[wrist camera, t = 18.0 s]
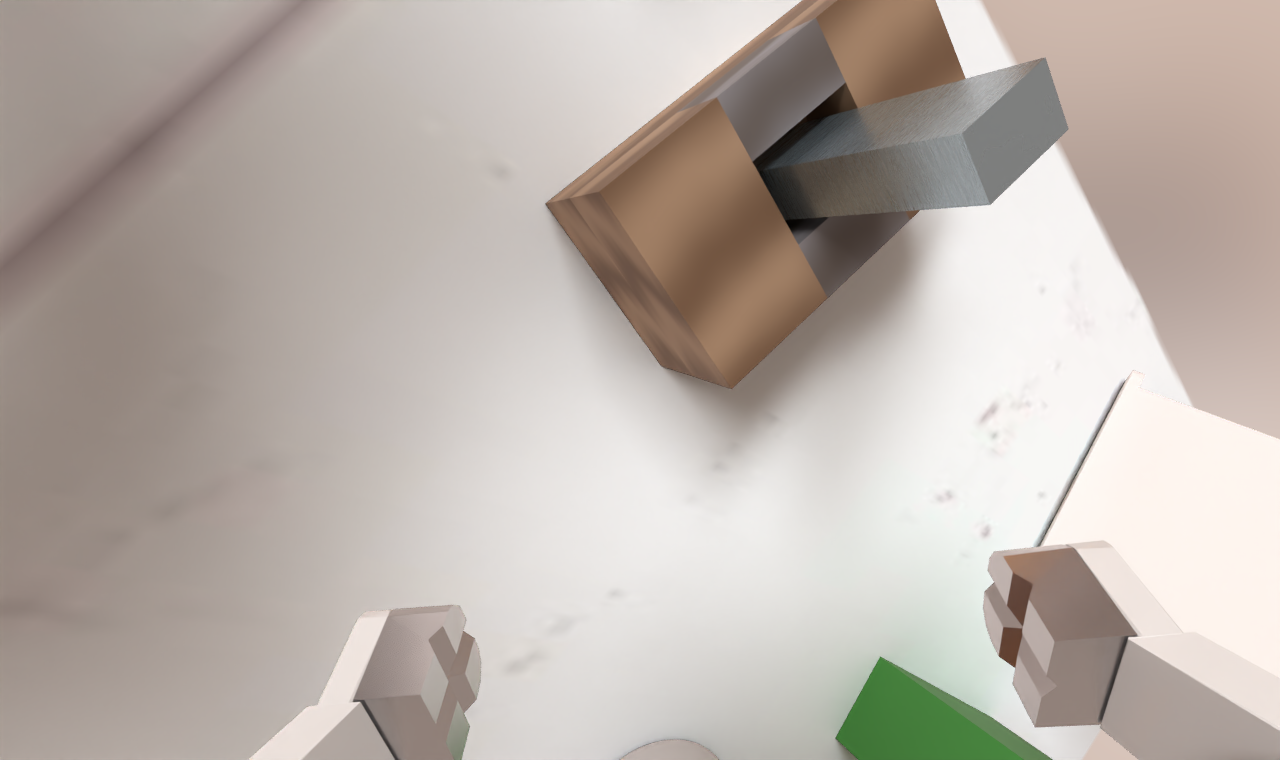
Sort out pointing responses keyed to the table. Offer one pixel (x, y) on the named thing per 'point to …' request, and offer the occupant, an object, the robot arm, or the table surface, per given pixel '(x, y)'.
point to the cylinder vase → (671, 751)
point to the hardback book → (923, 724)
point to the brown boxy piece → (746, 186)
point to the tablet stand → (1186, 516)
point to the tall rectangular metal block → (918, 148)
